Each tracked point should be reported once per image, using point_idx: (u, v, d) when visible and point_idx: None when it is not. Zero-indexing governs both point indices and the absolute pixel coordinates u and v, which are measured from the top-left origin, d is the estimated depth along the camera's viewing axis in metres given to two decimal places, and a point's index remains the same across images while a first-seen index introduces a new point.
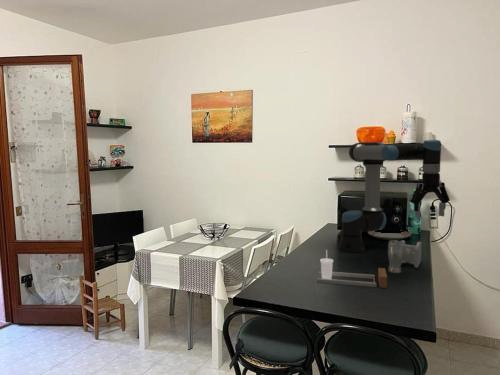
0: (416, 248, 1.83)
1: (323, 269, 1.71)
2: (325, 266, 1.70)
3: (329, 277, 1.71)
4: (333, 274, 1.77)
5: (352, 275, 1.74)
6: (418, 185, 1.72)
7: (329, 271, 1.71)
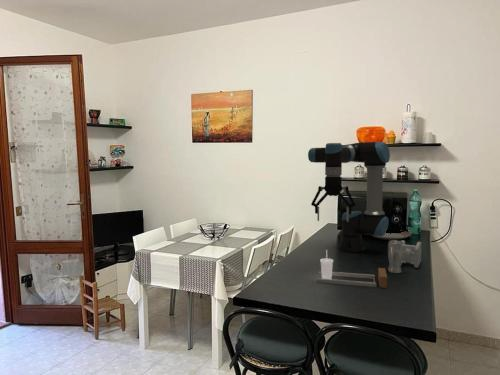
0: (416, 248, 1.83)
1: (323, 269, 1.71)
2: (325, 266, 1.70)
3: (329, 277, 1.71)
4: (333, 274, 1.77)
5: (352, 275, 1.74)
6: (318, 188, 1.73)
7: (329, 271, 1.71)
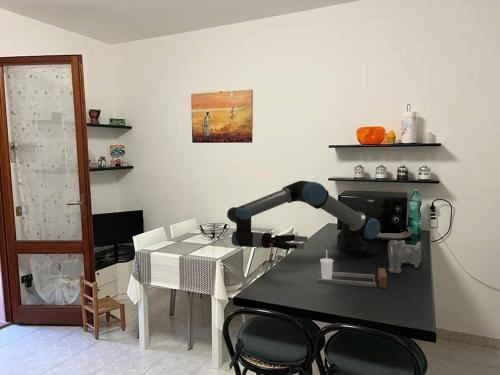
0: (416, 248, 1.83)
1: (323, 269, 1.71)
2: (325, 266, 1.70)
3: (329, 277, 1.71)
4: (333, 274, 1.77)
5: (352, 275, 1.74)
6: None
7: (329, 271, 1.71)
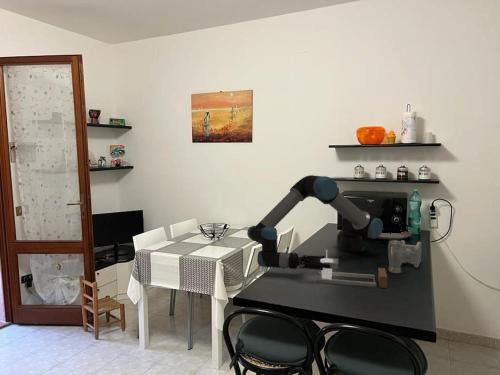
0: (416, 248, 1.83)
1: (323, 269, 1.71)
2: None
3: (329, 277, 1.71)
4: (333, 274, 1.77)
5: (352, 275, 1.74)
6: None
7: (329, 271, 1.71)
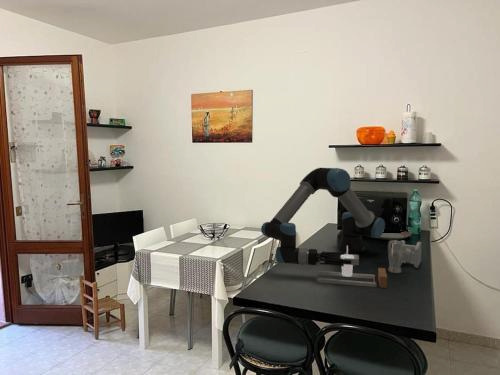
0: (416, 248, 1.83)
1: (344, 265, 1.68)
2: None
3: (350, 273, 1.68)
4: (333, 274, 1.77)
5: (352, 275, 1.74)
6: None
7: (350, 267, 1.67)
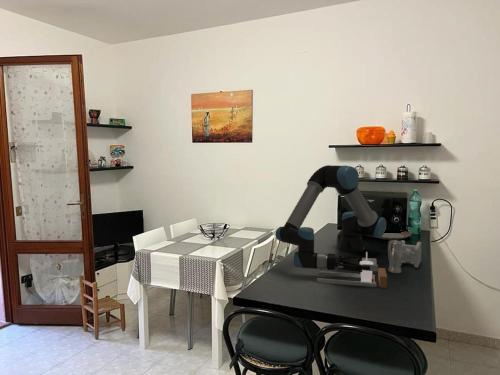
0: (416, 248, 1.83)
1: (363, 272, 1.66)
2: None
3: (369, 280, 1.66)
4: (333, 274, 1.77)
5: (352, 275, 1.74)
6: None
7: (369, 274, 1.66)
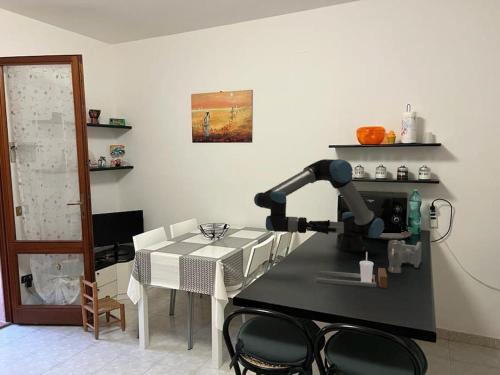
0: (416, 248, 1.83)
1: (363, 272, 1.66)
2: (366, 269, 1.65)
3: (369, 280, 1.66)
4: (333, 274, 1.77)
5: (352, 275, 1.74)
6: None
7: (369, 274, 1.66)
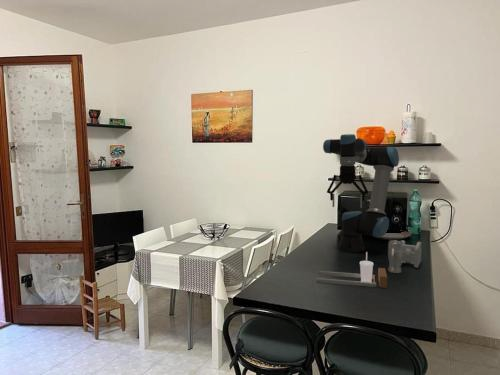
0: (416, 248, 1.83)
1: (363, 272, 1.66)
2: (366, 269, 1.65)
3: (369, 280, 1.66)
4: (333, 274, 1.77)
5: (352, 275, 1.74)
6: None
7: (369, 274, 1.66)
